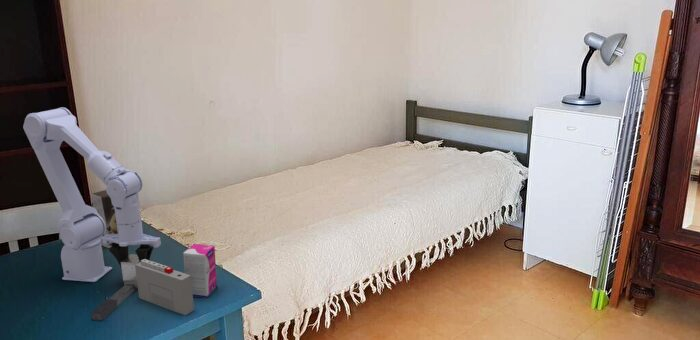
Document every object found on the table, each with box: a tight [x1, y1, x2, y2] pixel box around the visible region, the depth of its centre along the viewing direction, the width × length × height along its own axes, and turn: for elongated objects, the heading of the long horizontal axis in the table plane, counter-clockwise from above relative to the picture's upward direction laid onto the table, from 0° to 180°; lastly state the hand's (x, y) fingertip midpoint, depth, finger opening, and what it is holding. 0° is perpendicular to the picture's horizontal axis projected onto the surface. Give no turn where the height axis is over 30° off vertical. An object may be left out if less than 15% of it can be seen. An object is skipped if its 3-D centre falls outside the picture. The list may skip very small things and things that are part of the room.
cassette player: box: [135, 259, 195, 316], centre depth 128 cm, size 16×3×10 cm, turn 60°
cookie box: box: [91, 189, 118, 249], centre depth 162 cm, size 9×6×16 cm
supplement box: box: [182, 243, 218, 299], centre depth 133 cm, size 6×6×12 cm
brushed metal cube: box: [120, 253, 140, 282], centre depth 138 cm, size 5×5×5 cm
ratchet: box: [90, 281, 138, 322], centre depth 132 cm, size 20×6×4 cm, turn 171°
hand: (135, 270), depth 138 cm, fingers closed on brushed metal cube, 5 cm apart
